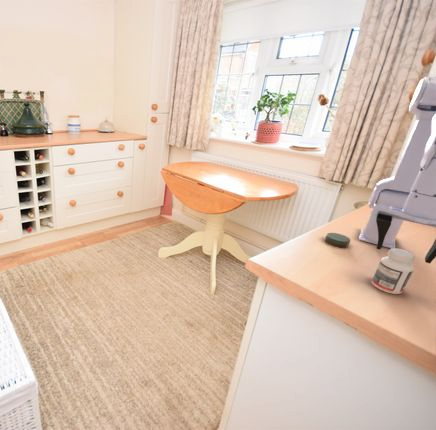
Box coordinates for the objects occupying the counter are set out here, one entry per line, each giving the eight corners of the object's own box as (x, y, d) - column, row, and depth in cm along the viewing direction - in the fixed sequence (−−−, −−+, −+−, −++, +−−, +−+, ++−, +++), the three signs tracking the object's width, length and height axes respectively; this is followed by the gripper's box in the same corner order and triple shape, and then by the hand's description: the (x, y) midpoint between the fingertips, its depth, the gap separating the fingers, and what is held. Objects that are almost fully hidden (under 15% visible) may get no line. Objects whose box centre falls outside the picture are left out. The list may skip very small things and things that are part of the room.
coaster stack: (326, 236, 87) (328, 230, 87) (349, 243, 84) (351, 237, 83) (322, 243, 83) (325, 236, 83) (346, 250, 80) (349, 243, 79)
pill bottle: (389, 281, 67) (406, 247, 63) (408, 295, 62) (427, 260, 59) (365, 279, 67) (380, 245, 64) (382, 293, 63) (399, 258, 59)
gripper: (381, 188, 58) (357, 248, 63) (493, 208, 49) (454, 276, 54) (383, 182, 63) (360, 238, 68) (485, 198, 54) (449, 261, 59)
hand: (401, 254), depth 61 cm, fingers open, 7 cm apart
